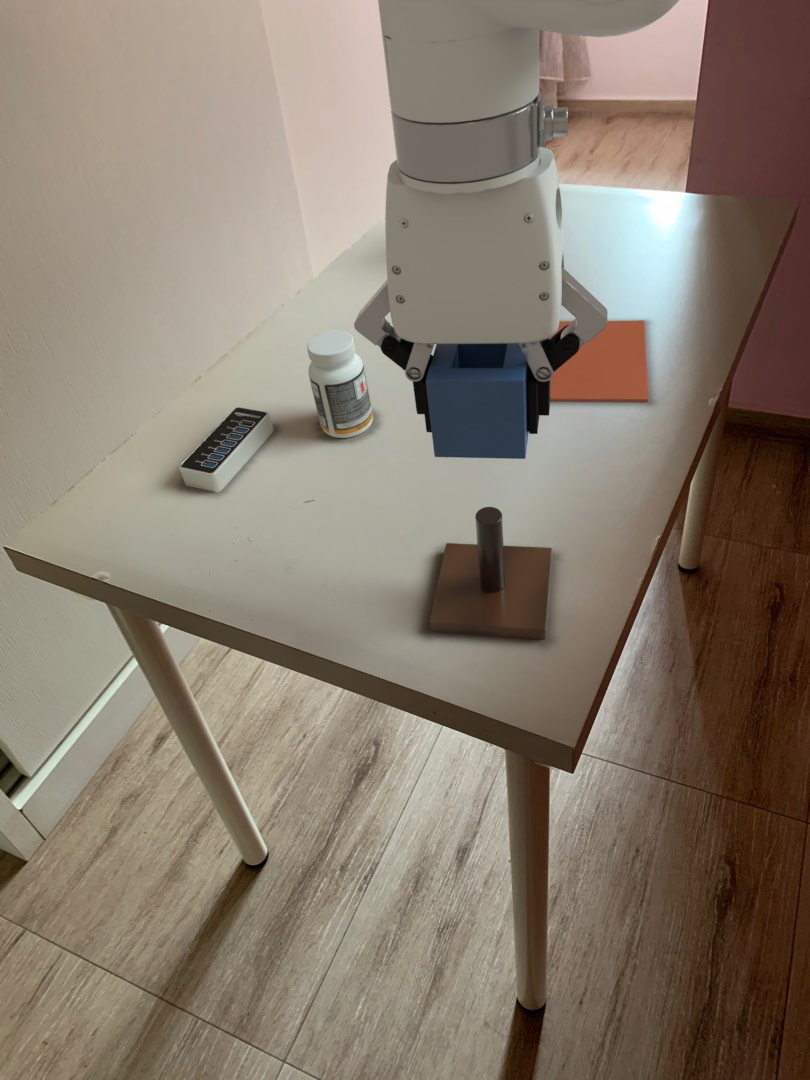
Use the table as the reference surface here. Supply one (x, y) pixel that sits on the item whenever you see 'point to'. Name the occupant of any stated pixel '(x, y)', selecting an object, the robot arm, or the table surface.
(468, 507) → the table surface
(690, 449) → the table surface
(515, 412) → the blue block
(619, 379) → the mat
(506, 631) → the dowel stand
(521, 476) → the table surface
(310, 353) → the pill bottle
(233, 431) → the multiport hub
